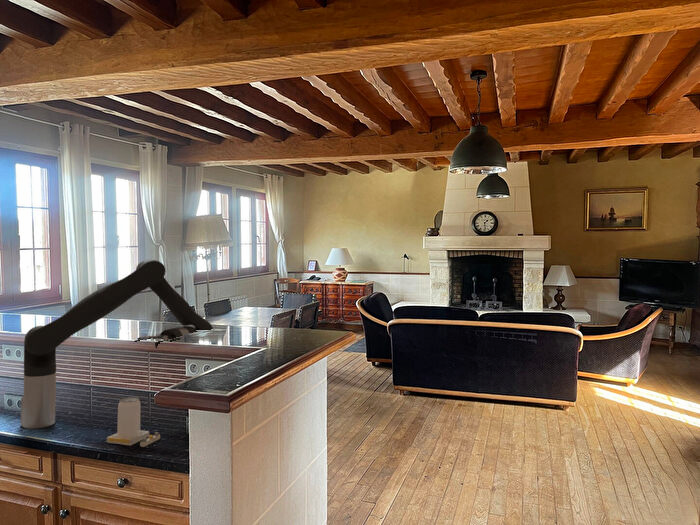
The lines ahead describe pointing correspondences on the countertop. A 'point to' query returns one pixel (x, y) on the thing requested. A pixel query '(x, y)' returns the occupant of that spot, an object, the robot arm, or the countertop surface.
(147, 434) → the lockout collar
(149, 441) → the indicator bank
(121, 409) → the can
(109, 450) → the countertop surface
